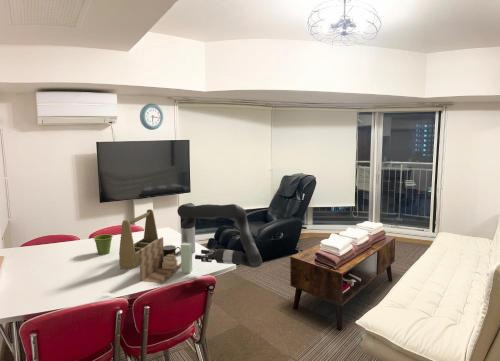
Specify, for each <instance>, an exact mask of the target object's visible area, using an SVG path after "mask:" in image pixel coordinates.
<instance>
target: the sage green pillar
mask: <svg viewBox="0 0 500 361" xmlns="http://www.w3.org/2000/svg"><path fill="white" fill-rule="evenodd" d="M180 249H181V250H180V263H181V268H180V269H181V270H180V271H181V274H191V273H192V272H193V253H192V243H182V244H180Z"/></svg>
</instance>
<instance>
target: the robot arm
mask: <svg viewBox="0 0 500 361" xmlns="http://www.w3.org/2000/svg"><path fill="white" fill-rule="evenodd" d="M177 215H178V216H179V217H180V218H182V219H184V220H183V221H182V222H181V223H180V238H181V240H180V242H181V244H182V243H192V254H193V253H195V252H196V224H197V222H196V221H197V219H204V220H216V219H218V218H226V219H229V220H231V221H234V222H235V223H236V224H237V225H238V228H239V239H240V242H241V245H242V248H243V251H241V250H239V251H238V250H232V249H224V248H223V249H222V248H219V249H216V248H209V249H201V250H200V253H201V254H195V255H194V259H195V260H200V261H201V263H212V262H213V261H215V262H216V263H217V264H223V265H241V266H245V267H249V268H259V267H261V266H262V265H263V258H262V256H261V254H260V251H259V249H258V247H257V244H256V242H255V239H254V237H253V235H252V232H251V229H250V225H249V221H248V217H247V213H246V210H245V209H244V208H243V207H241V206H240V205H239V204H235V203H231V204H210V203H208V204H199V205H198V204H197V205H195V204H194V203H192V202H188V203H183V204H181V205H179V206H178V208H177ZM181 244H180V245H181Z"/></svg>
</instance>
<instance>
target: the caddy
mask: <svg viewBox="0 0 500 361" xmlns="http://www.w3.org/2000/svg"><path fill="white" fill-rule="evenodd" d="M143 219H145V223H144V231H143V232H144V233H143V238H142V239H140V240H138V241H136V242H135V243H134V238H133V233H132V228H131V225H132V224H135V223H136V222H139V221H141V220H143ZM120 231H121V232H120V242H119V250H118V251H119V252H118V254H119V256H118V257H119V269H122V270H133V269H136V268H138V267H140V254H139V251H140V250H141V249H143V248H145V247H146V246H148V245H150V244H151V243H153V242H155V241H156V240H158V239H159V235H158V229H157V224H156V218H155V214H154V210H152V209H147V210H146V212H145V213H143V214H140V215H139V216H137V217H134V218H131V219H129V220H128V219H124V220H122V222H121V229H120Z"/></svg>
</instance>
